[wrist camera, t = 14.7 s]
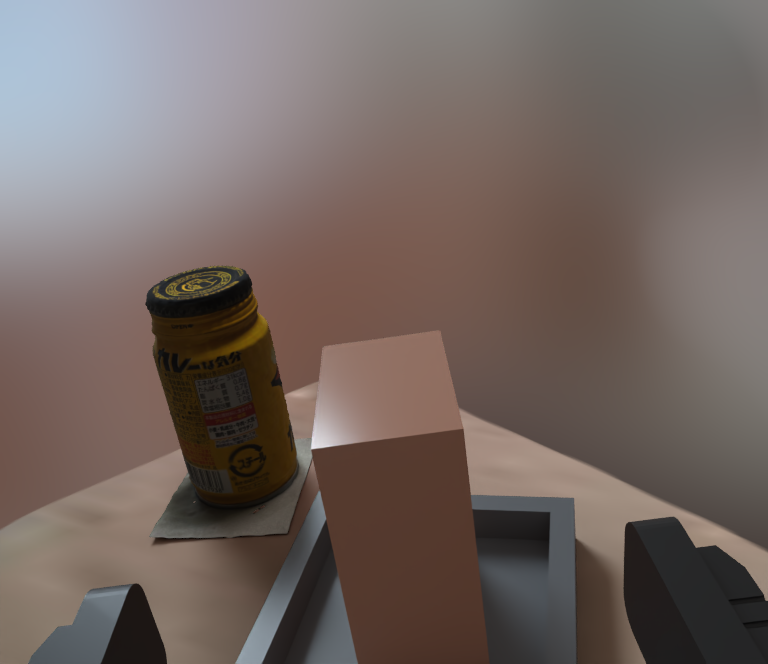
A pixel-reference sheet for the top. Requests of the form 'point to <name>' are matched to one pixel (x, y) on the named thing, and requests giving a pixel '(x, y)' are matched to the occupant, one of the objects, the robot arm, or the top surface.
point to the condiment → (224, 408)
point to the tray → (497, 576)
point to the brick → (399, 501)
